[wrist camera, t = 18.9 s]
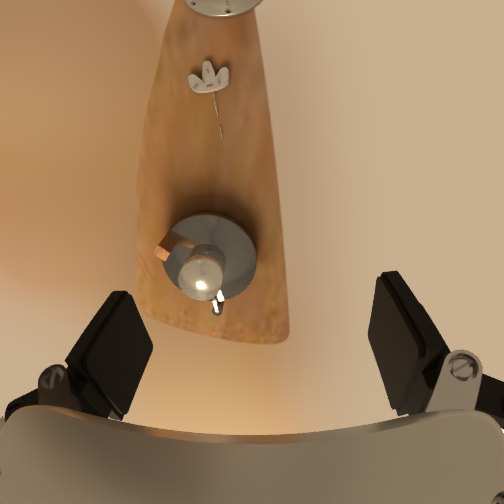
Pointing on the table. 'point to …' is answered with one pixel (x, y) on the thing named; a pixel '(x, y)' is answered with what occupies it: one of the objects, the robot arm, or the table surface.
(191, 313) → the table surface
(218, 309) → the dial pointer
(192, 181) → the table surface
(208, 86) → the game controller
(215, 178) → the table surface
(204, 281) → the cover
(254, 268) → the turntable
